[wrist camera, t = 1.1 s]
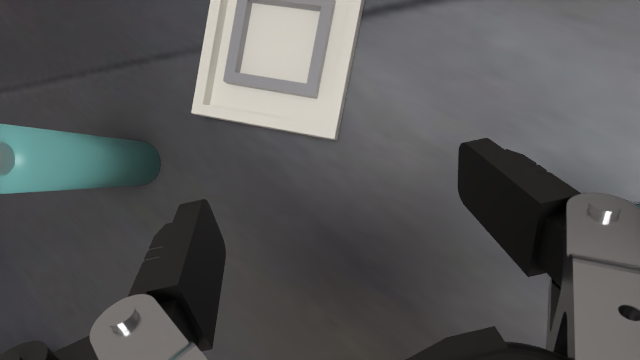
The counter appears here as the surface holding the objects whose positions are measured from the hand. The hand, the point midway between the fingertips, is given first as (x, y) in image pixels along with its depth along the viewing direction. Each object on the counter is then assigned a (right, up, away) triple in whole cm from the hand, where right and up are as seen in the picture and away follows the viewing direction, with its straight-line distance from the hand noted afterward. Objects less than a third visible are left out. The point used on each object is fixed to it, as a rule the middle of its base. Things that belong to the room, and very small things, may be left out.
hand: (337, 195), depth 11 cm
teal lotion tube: (-19, +2, +26) cm, 33 cm away
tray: (-4, +13, +23) cm, 27 cm away
